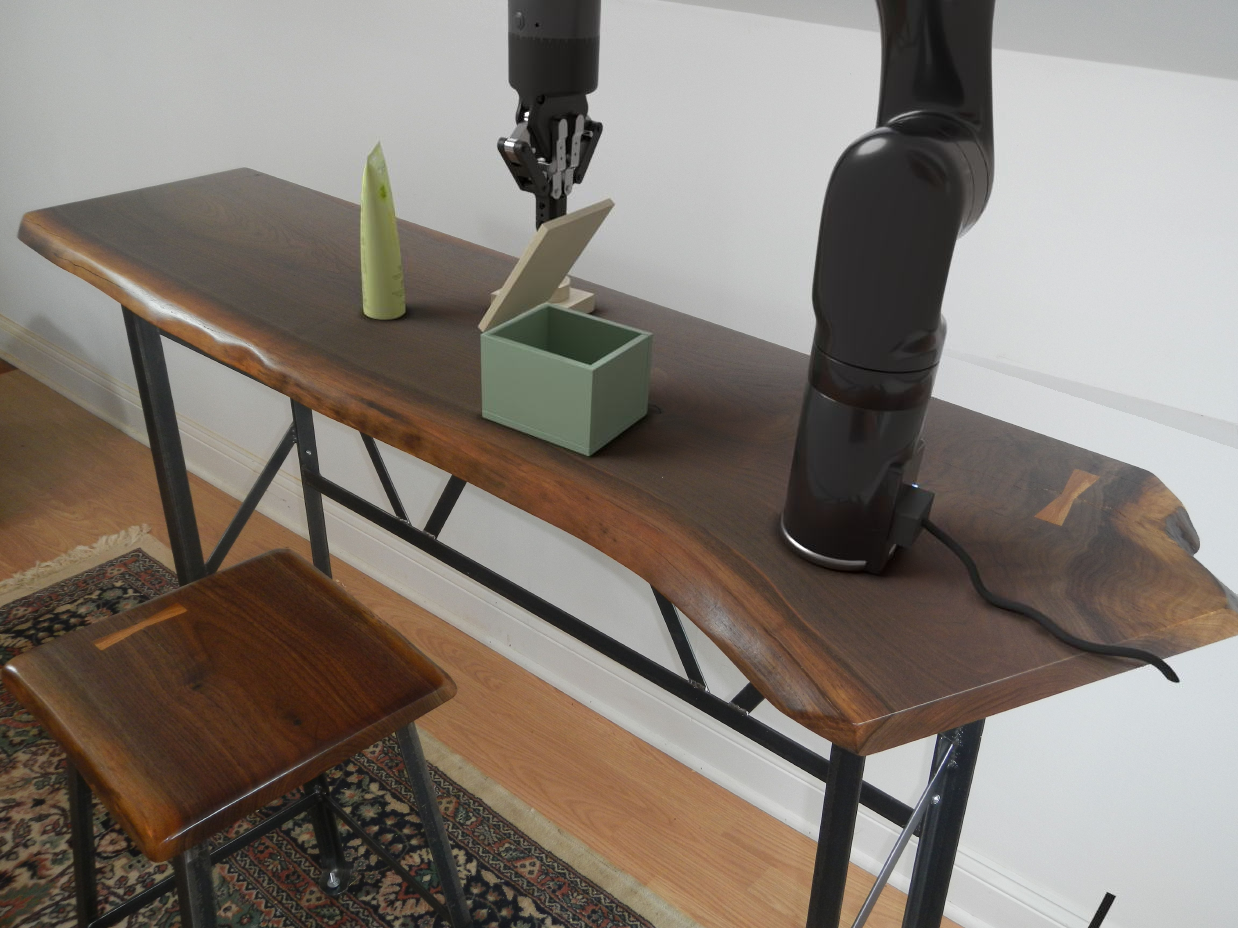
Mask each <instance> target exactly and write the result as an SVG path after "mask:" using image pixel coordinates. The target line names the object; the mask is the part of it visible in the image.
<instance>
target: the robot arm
mask: <svg viewBox="0 0 1238 928" xmlns="http://www.w3.org/2000/svg"><path fill="white" fill-rule="evenodd" d="M996 1H997V0H874V4H875V9H876V12H877V18H878V25H879V26H878V27H879V35H880V74H879V75H880V76H879V88H878V89H879V91H878V102H877V111H876V121H875V127H874V129H872V130H870V131H868V132H866V133H863V134H861V136H859V137H858V138H856V139H855V140H854V141H852V142H851V143H850V144H849V145H848V146H847V147H846V148H845V149H844V150H843V151H842V153H841V154H840V155H839V156H838V158H837V160H836V162H835V164H834V166H833V168H832V171H831V173H830V176H829V178H828V181H827V185H826V189H825V193H824V196H823V201H822V208H821V214H820V221H819V226H818V227H819V228H818V234H817V243H816V251H815V259H814V268H813V275H812V283H811V284H812V285H811V304H812V310H813V314H814V317H815V323H814V325H815V327H814V331H813V337H812V342H811V349H810V355H809V363H808V366H807V372H806V376H805V377H806V378H805V383H804V390H803V396H802V401H801V407H800V412H799V419H798V425H797V431H796V436H795V442H794V449H793V454H792V460H791V465H790V470H789V478H788V484H787V488H786V489H787V490H786V496H785V502H784V504H783V510H782V514H781V519H780V523H779V534H780V537H781V540H782V541H783V542H784V544H785V546H787V547H788V548H789V549H790V550H791V551H792V552H793V553H794V554H796V555H797V556H799V557H800V558H802V559H804V560H806V561H808V562H810V563H813V564H815V565H818V566H819V567H820V566H821V567H824V568H827V569H831V570H837V571H844V572H845V571H847V572H858V571H863V572H867V573H871V574H872V575H873V574H874V575H879V574H880V573H881V572H882V570H883V569H884V567H885V566H886V565H887V563H888V561H890V559H891V558H892V557H893V555H894V554H895V551H896V549H897V548H898V546H900V547H903V548H906V549H908V550H911V549H912V547H913V546H914V544H915V543H916V541H917V540H918V537H919V536H920V535H921V533H922V532H923V530H926V531H927V532H928V533H930V534H931V536H934V538H936V539H937V540H939V541H940V542H941V544H943V545H945V546H946V547H947V548H948V549H949V550H951V551H952V553H953V554H955V555H956V556H957V558H958V559H959V560H960V561H961V562H962V563H963V565H964V566H965V568H966V570H967V572H968V575H969V578H970V581H971V583H972V586H973V587H974V589H975V591H976V592H977V594H978V595H979V596H980V597H981V598H982V599H983V600H984V601H986V602H987V603H988V604H991V605H992V606H995V607H998V608H1001V609H1003V610H1008V611H1012V612H1016V613H1018V614H1019V613H1020V614H1022V615H1025V616H1027V617H1028V618H1031V619H1032V620H1034V621H1035V622H1036V623H1038V624H1039V625H1040V626H1042V628H1044V629H1045V630H1046V631H1047V632H1049V633H1050V634H1051V635H1052V636H1054V637H1055V638H1057V639H1058V640H1060V641H1061V642H1062V643H1064V644H1067V645H1068V646H1070V647H1073V648H1075V649H1077V650H1081V651H1084V652H1087V653H1092V654H1096V655H1104V656H1111V657H1118V658H1128V659H1133V660H1138V661H1142V662H1145V663H1147V664H1149V665H1151V666H1152V667H1154V668H1156V669H1157V670H1158V671H1159V672H1160V673H1161V674H1162V675H1163V676H1164V678H1166V680H1167V681H1169V682H1171V683H1174V684H1180V682H1181V680H1180V678H1179V676H1178V675H1177V673H1176V671H1175V670H1174V669H1173V668H1172V666H1170V665H1169V664H1168V663H1167V662H1166V661H1165V660H1163V659H1162V658H1161V657H1159V656H1157V655H1156V654H1153V653H1150V652H1148V651H1146V650H1143V649H1139V648H1133V647H1127V646H1119V645H1109V644H1102V643H1096V642H1091V641H1087V640H1084V639H1082V638H1079V637H1076V636H1074V635H1072V634H1070V633H1068V632H1067V631H1066V630H1064V629H1063V628H1062V627H1060V626H1059V625H1057V624H1056V623H1055V622H1054V621H1053V620H1051V619H1050V618H1049V617H1048V616H1046V615H1045V614H1043V613H1042V612H1040V611H1039V610H1038V609H1035V608H1034V607H1032V606H1029V605H1027V604H1024V603H1021V602H1017V601H1014V600H1009V599H1006V598H1002V597H1000V596H998V595H996V594H994V593H992V592H991V591H990V590H988V589H987V587H986V586H985V584H984V583H983V580H982V578H981V576H980V572H979V570H978V568H977V565H976V563H975V561H974V560H973V558H972V557H971V555H969V553H968V552H967V551H966V550H965V549H964V548H963V547H962V546H961V545H960V544H959V543H958V542H957V541H956V540H955V539H953V538H952V537H951V536H950V535H949V534H948V533H946V532H945V531H944V530H942V529H941V528H940V527H938V526H937V525H935V523H933V522H932V521H931V520H930V519H929V518H930V514H931V510H932V507H933V503H934V500H935V496H936V493H935V492H934V491H931V490H926V489H924V488H921V487H918V485H916V483H917V479H918V476H919V471H920V468H921V463H922V460H923V456H924V452H925V448H926V441H925V440H924V439H922V434H923V431H924V427H925V426H924V425H925V422H926V419H927V414H928V410H929V406H930V403H931V399H932V394H933V391H934V386H935V383H936V382H935V381H936V378H937V375H938V370H939V366H940V363H941V358H942V355H943V351H944V347H945V342H946V339H947V334H948V323H947V322H948V321H947V320H946V317H945V316H944V315H943V313H942V307H943V301H944V297H945V292H946V286H947V283H948V278H949V275H950V269H951V266H952V265H951V264H952V260H953V256H954V252H955V248H956V244H957V241H958V240H959V239H961V238H963V237H964V236H965V235H966V234H967V233H968V232H969V231H970V230H971V229H973V227H974V226H975V225H976V224H977V223H978V222H979V221H980V218H981V217H982V215H983V214H984V212H985V211H986V208H987V206H988V203H989V201H990V198H991V196H992V192H993V189H994V188H993V187H994V182H995V164H996V163H995V135H994V133H995V130H994V129H995V128H994V99H993V97H994V96H993V95H994V94H993V33H994V18H995V10H996ZM601 19H602V0H507V54H508V55H507V57H508V58H507V61H508V62H507V68H508V70H507V72H508V74H507V75H508V77H507V78H508V79H507V80H508V84H509V86H510V87H511V88H512V89H513V90H515V91H516V93H517V95H518V103H517V108H516V112H515V117H514V119H515V124H516V127H515V128H514V130H513V131H512V133H511V134H510V136H509V137H504V136H500V137H499V138H498V139H497V143H496V148H497V151H498V153H499V154H500V155H499V156H501V158H502V160H503V162H504V163H505V165H506V167H507V169H508V171H509V173H510V174H511V176H512V178H513V180H514V181H515V184H516V185H517V187H518V188H519V190H520V191H521V192H526V193H529V194H533V195H534V198H535V231H536V233H537V232H538V230H539V228H540V227H541V225H542V224H543V223H546V222H549V221H551V220H554V219H556V218H559V217H562V216H564V215H567V214H568V213H567V210H568V196H569V195H571V193H572V191H573V187H574V185H575V184H576V185H581V184H582V183H583V181H584V179H585V176H586V173H587V172H588V169H589V166H590V164H591V161H592V159H593V156H594V154H595V152H596V150H597V149H596V148H597V147H598V144H599V141H600V138H601V136H602V134H603V131H604V125H603V123H602V122H601V121H596V120H593V119H592V118H591V117H590V115H589V114H588V113H589V102H588V99H587V95H590V94H592V93H594V92H595V91H596V90H597V89H598V87H599V74H600V72H599V71H600V46H601V23H602V20H601ZM1116 898H1117V895H1115V894H1113V893H1110V892H1109V891H1106V893H1105V894H1104V897H1103V899H1102V900H1101V902H1100V904H1099V906H1098V908H1097V910H1096V911H1095V914H1094V915H1093V917H1092V919H1091V921H1090V923H1089V925H1088V927H1087V928H1101V925H1102V923H1103V922H1104V920H1105V918H1106V916H1107V915H1108V913H1109V911H1110V909H1111V908H1112V905H1113V904H1114V901H1115V899H1116Z"/></svg>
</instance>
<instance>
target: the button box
mask: <svg viewBox="0 0 1238 928" xmlns="http://www.w3.org/2000/svg"><path fill="white" fill-rule="evenodd" d="M501 289H502V287H501V288H499V289H497V290H495V291H493V292H491V293H490V306H491V305H492V303H493V302H494V300H495V298H496V297H497V295H498V294H499V292H500V290H501ZM595 297H596V296H595V293H592V292H589V291H585V290H583V289H578V288H574V287H571V278H570V277H569V276H568V275H566V277H565V278H564V280H563V281H562V282H561V284H560V285H559V287H558V288H557V290H556V291H555V293H554V294H553V296H552V297H551V298H550V300H549V301H547V303H551V304H554V305H558V306H561V307H565V308H568V309H571V310H575V311H578V312H582V313H585V314H590V313H592V312H593V311H595ZM545 303H546V302H545ZM543 304H544V303H543ZM541 305H542V304H541ZM539 306H540V305H539ZM537 307H538V306H537ZM534 308H536V307H534ZM534 308H532V309H534ZM532 309H530V310H532ZM530 310H528V311H530ZM528 311H526V312H528ZM526 312H524V313H526ZM524 313H522V314H524ZM522 314H520V315H522ZM520 315H518V316H520ZM516 317H517V316H516Z"/></svg>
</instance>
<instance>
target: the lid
mask: <svg viewBox="0 0 1238 928" xmlns="http://www.w3.org/2000/svg"><path fill="white" fill-rule="evenodd" d="M615 205H616V203H615V202H614V201H613V200H612V199H611V198H606V199H603V200H601V201H598V202H596V203H593V204H591V205H588V206H586V207H583V208H580V209H578V210H575V211H572V212H570V213H567V215H564V216H562V217H559V218H556V219H554V220H551V221H549V222H546V223H543V224H542V225H541V227H540V228H539V230H538V232H537V231H536V233H535V235H534V236H533V237H532V239H531V241H530V242H529V244H528V246H527V247H526V249H525V251H524V252H523V254H522V256H521V257H520V259H519V260H518V262H516V265H515V266H514V268H513V270H512V271H511V272H510V274H509V276H508V278H507V279H506V281H505V283H504V284H503V286H502V287H501V288H502V289H501V288H500V289H501V290H500V292H499V294H498V295H497V297H496V298H495V300H494V302H493V303H492V305H491V304H490V307H489V308H488V309H487V311H486V313H485V314H484V316H483V318H482V319H481V321H480V322H479V324H478V325H477V328H478V329H479V330H480V331H481V332H482V333H485V332H487V331H489V330H491V329H493V328H495V327H497V326H499V325H501V324H503V323H505V322H507V321H509V320H511V319H513V318H515V317H516V316H518V315H520V314H522V313H524V312H526V311H528V310H530V309H532V308H534V307H537V306H539V305H541V304H543V303H545V302H547V301H549V300H550V298H551V297H552V296H553V294H554V293H555V291H556V290H557V288H558V287H559V285H560V284H561V282H562V281H563V280H564V278H565V277H566V276H568V274H569V272H570V271H571V269H572V268H573V266H574V264H575V263H576V262H577V261H578V259H580V257H581V255H582V253H583V252H584V251H585V249H586V247H587V246H588V245H589V243H590V242H591V240H592V239H593V238H594V236H595V234H596V233H597V232H598V230H599V229H600V227H601V226H602V224H603V223H604V222H605V220H606V218H607V217H608V216H609V214H610V212H611V211H612V210H613V209H614V207H615Z"/></svg>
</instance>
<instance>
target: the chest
mask: <svg viewBox="0 0 1238 928" xmlns="http://www.w3.org/2000/svg"><path fill="white" fill-rule="evenodd" d="M653 341H654V333H653V332H650V331H646V330H643V329H639V328H636V327H633V326H629V325H626V324H623V323H620V322H616V321H612V320H610V319H609V320H608V319H606V318H602V317H600V316H599V317H598V316H595V315H591V314H590V313H588V314H585V313H582V312H578V311H575V310H571V309H568V308H565V307H561V306H558V305H554V304H551V303H547V302H546V303H544V304H542V305H540V306H538V307H536V308H534V309H532V310H530V311H528V312H526V313H524V314H522V315H520V316H517V317H514V318H512V319H510V320H508V321H506V322H504V323H502V324H500V325H498V326H495V327H493V328H491V329H489V330H487V331H485V332H482V333H481V334H480V370H481V371H480V372H481V375H480V376H481V407H482V408H481V411H482V412H481V413H482V414H481V415H482V418H484V419H487V420H489V421H492V422H494V423H497V424H500V425H502V426H505V427H508V428H510V429H513V430H515V431H519V432H522V433H524V434H526V435H530V436H533V437H536V438H538V439H540V440H543V441H545V442H548V443H552V444H554V445H557V446H560V447H562V448H565V449H568V450H570V451H573V452H576V453H578V454H581V455H584V456H587V457H590V456H592V455H593V454H595V453H596V452H597V451H599V450H601V448H603V447H604V446H606V445H607V444H609V442H611V441H612V440H614V439H615V438H616V437H618V436H619V435H621V434H622V433H623V432H624V431H626V430H628V429H629V428H631V427H632V426H633V425H634V424H635V423H637V422H638V421H640V420H641V419H642V418H644V417H645V416H646V415H648V405H649V393H650V392H649V391H650V378H651V367H652V354H653Z"/></svg>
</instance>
